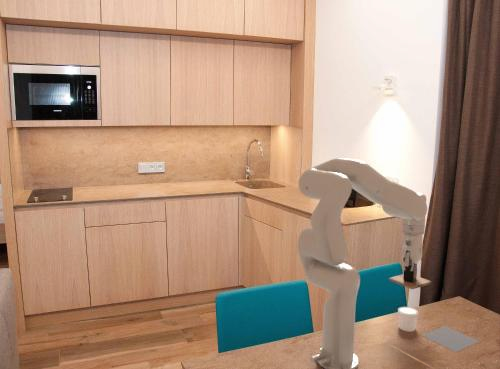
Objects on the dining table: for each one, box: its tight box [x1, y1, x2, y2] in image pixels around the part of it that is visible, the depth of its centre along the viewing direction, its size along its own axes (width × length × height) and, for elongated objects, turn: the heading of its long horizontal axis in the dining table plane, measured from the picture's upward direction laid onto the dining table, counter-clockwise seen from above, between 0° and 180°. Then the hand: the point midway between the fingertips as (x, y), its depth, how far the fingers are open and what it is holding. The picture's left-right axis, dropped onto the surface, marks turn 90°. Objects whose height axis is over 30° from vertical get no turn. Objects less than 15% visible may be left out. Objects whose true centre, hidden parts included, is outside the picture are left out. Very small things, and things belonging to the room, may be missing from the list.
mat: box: [421, 325, 480, 353], centre depth 154 cm, size 13×13×1 cm
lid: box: [388, 264, 432, 290], centre depth 159 cm, size 10×10×6 cm
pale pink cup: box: [397, 306, 419, 332], centre depth 162 cm, size 7×7×7 cm
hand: (410, 278), depth 159 cm, fingers closed on lid, 4 cm apart
